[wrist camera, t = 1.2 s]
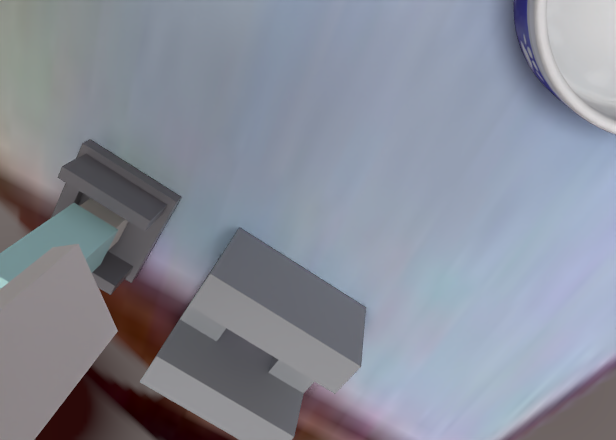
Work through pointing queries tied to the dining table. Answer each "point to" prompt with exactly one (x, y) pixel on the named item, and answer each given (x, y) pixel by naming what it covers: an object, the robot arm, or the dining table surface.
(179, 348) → the port
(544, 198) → the dining table surface
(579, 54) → the dog bowl
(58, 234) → the plug
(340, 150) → the dining table surface
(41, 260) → the robot arm
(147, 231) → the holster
